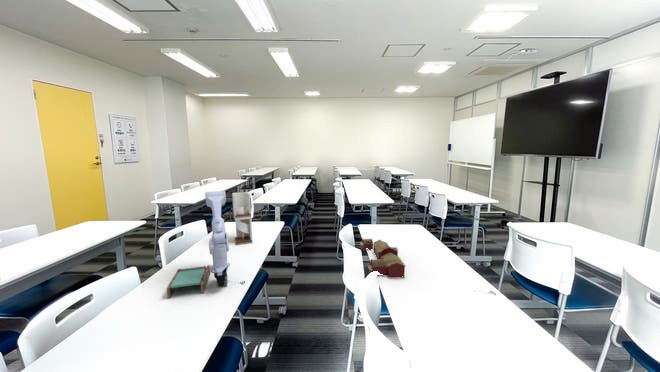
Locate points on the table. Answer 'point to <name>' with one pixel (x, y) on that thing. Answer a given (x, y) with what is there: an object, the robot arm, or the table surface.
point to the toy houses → (384, 258)
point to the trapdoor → (188, 277)
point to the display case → (242, 217)
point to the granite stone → (224, 282)
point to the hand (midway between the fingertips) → (222, 282)
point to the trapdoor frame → (203, 282)
